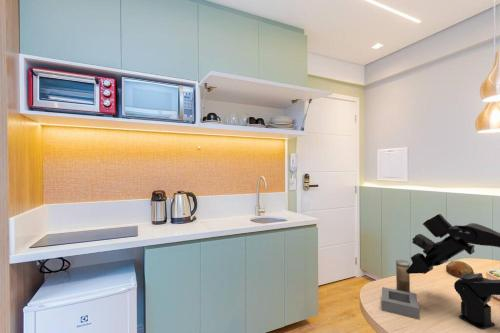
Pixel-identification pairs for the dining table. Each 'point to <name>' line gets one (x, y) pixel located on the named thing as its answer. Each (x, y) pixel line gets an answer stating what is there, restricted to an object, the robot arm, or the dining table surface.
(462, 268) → the bread roll
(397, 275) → the post
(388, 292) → the grey square frame
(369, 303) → the dining table surface
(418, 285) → the dining table surface
